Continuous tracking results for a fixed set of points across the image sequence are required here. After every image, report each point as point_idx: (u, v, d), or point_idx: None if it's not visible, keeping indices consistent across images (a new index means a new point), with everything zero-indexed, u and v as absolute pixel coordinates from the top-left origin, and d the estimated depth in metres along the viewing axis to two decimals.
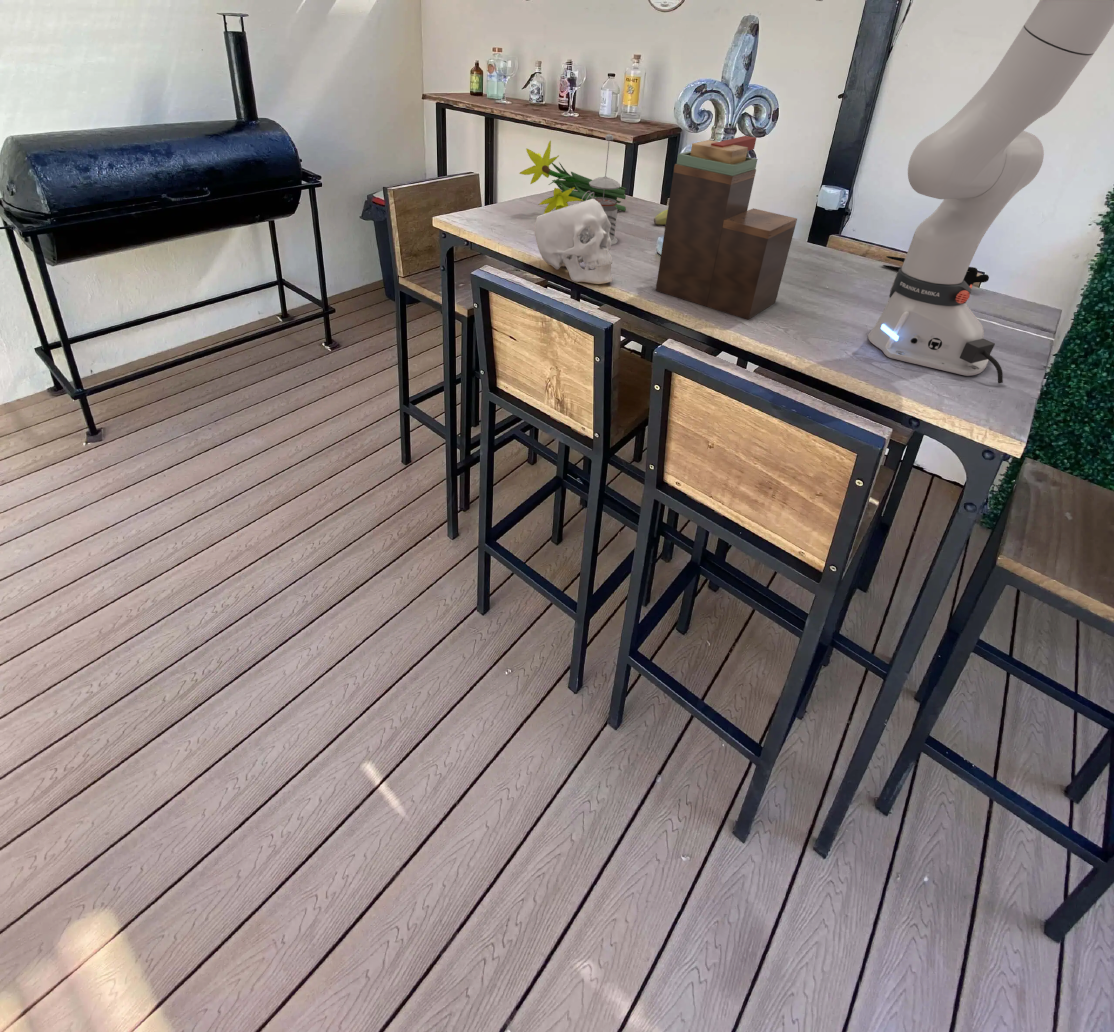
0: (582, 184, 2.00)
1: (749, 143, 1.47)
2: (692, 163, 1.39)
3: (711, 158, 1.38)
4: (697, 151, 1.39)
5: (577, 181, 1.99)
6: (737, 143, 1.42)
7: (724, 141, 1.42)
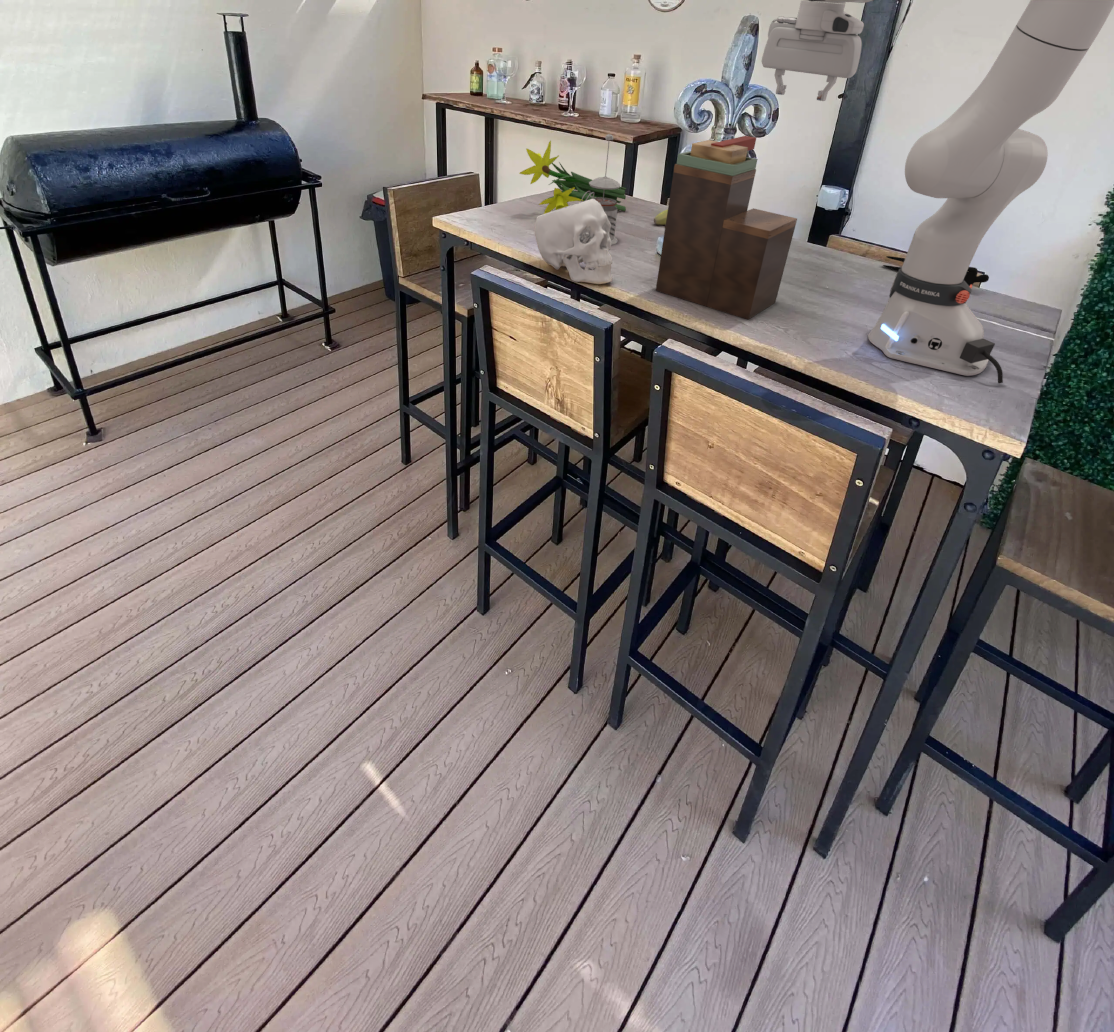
0: (582, 184, 2.00)
1: (749, 143, 1.47)
2: (692, 163, 1.39)
3: (711, 158, 1.38)
4: (697, 151, 1.39)
5: (577, 181, 1.99)
6: (737, 143, 1.42)
7: (724, 141, 1.42)
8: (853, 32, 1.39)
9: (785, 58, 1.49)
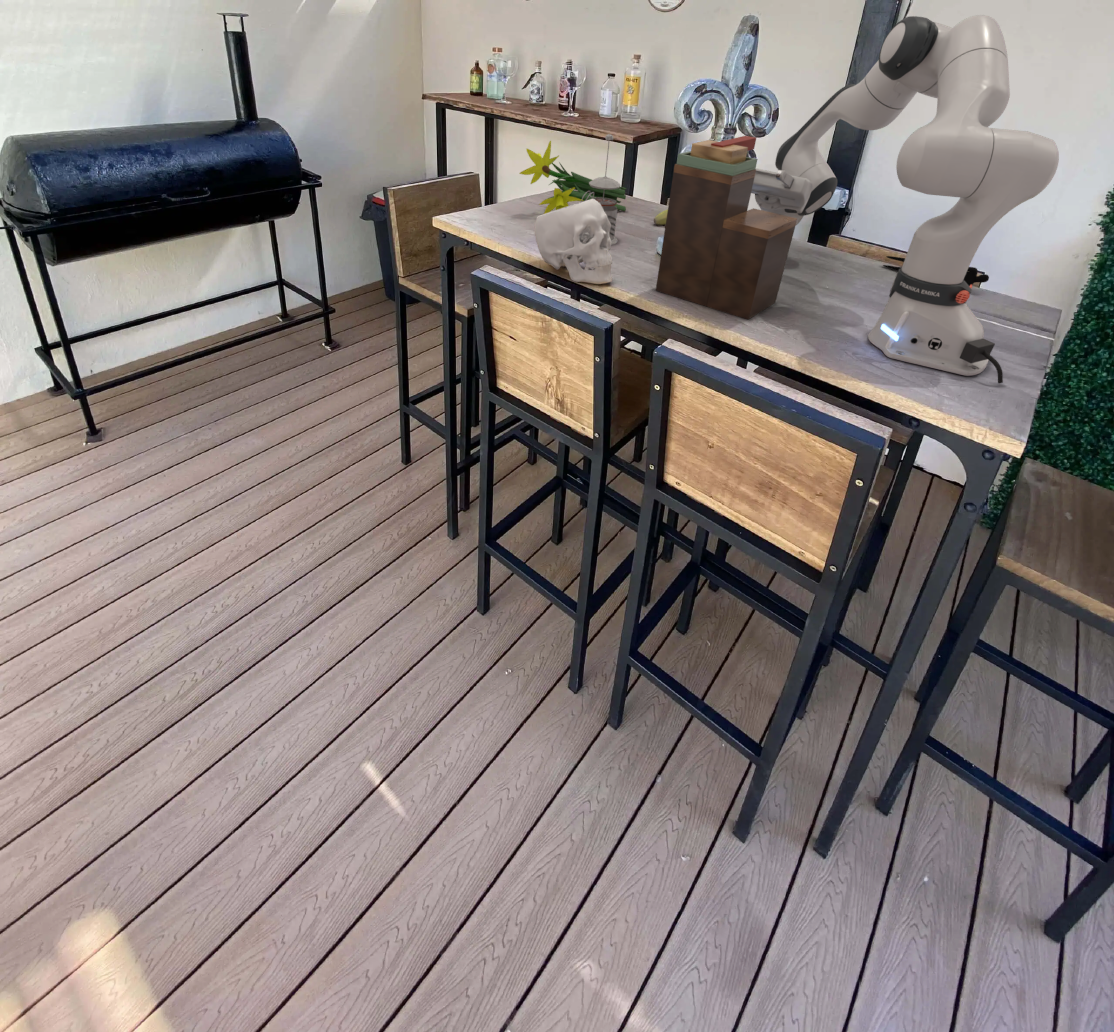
0: (582, 184, 2.00)
1: (749, 143, 1.47)
2: (692, 163, 1.39)
3: (711, 158, 1.38)
4: (697, 151, 1.39)
5: (577, 181, 1.99)
6: (737, 143, 1.42)
7: (724, 141, 1.42)
8: None
9: None
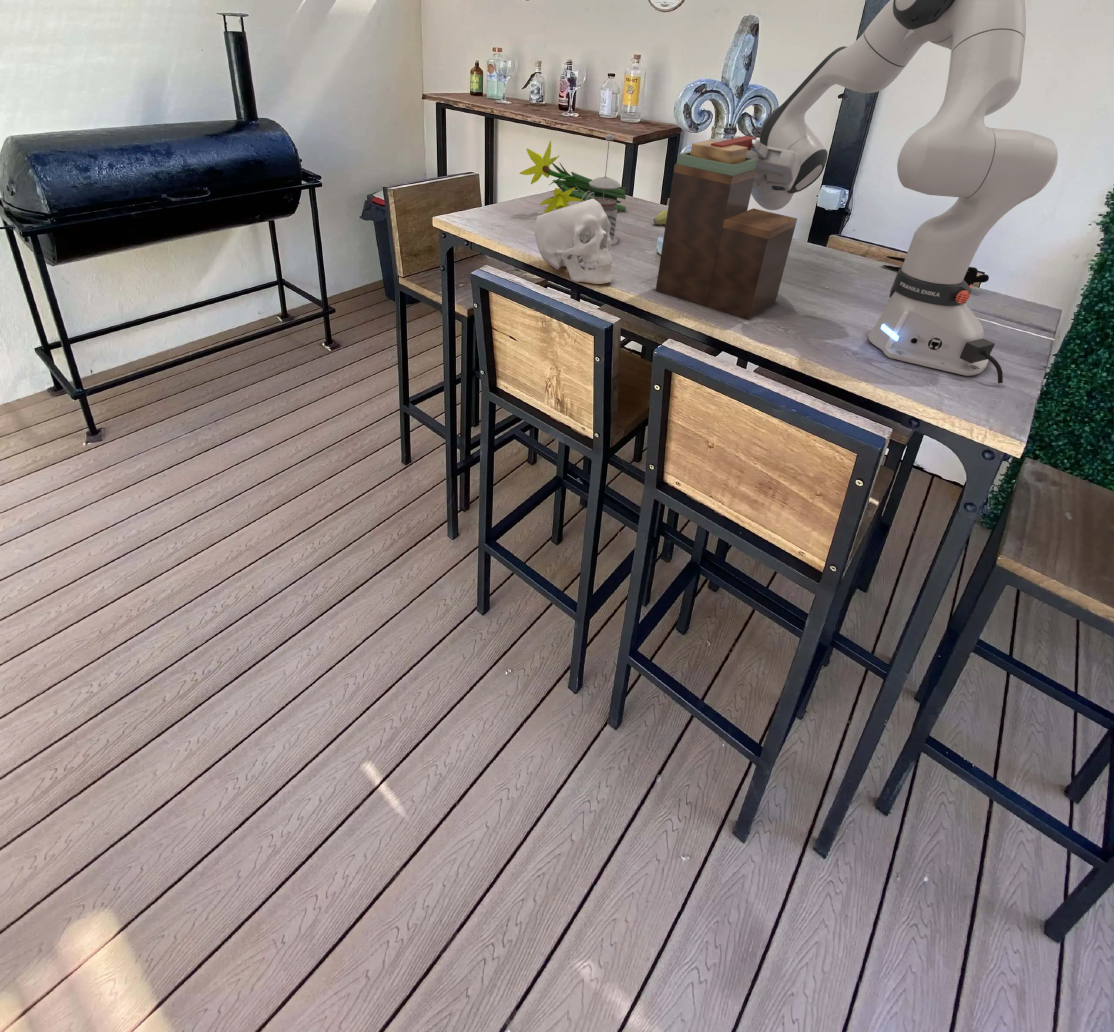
0: (583, 184, 2.00)
1: (749, 143, 1.47)
2: (692, 163, 1.39)
3: (711, 158, 1.38)
4: (697, 151, 1.39)
5: (577, 181, 1.99)
6: (737, 143, 1.42)
7: (724, 141, 1.42)
8: (798, 164, 1.54)
9: None
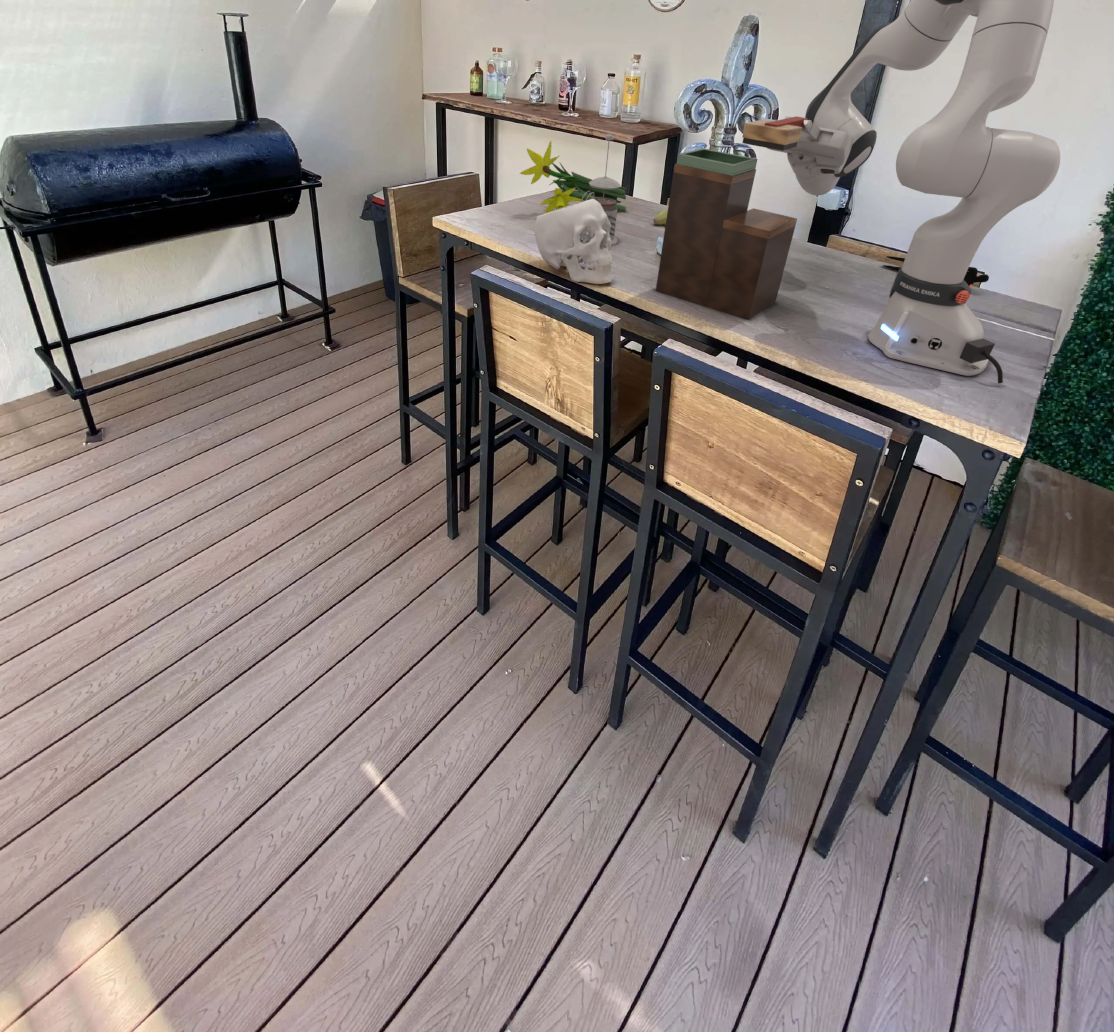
0: (583, 184, 2.00)
1: (801, 124, 1.43)
2: (692, 163, 1.39)
3: (765, 138, 1.34)
4: (750, 131, 1.35)
5: (577, 181, 1.99)
6: (790, 123, 1.38)
7: (777, 121, 1.38)
8: None
9: None
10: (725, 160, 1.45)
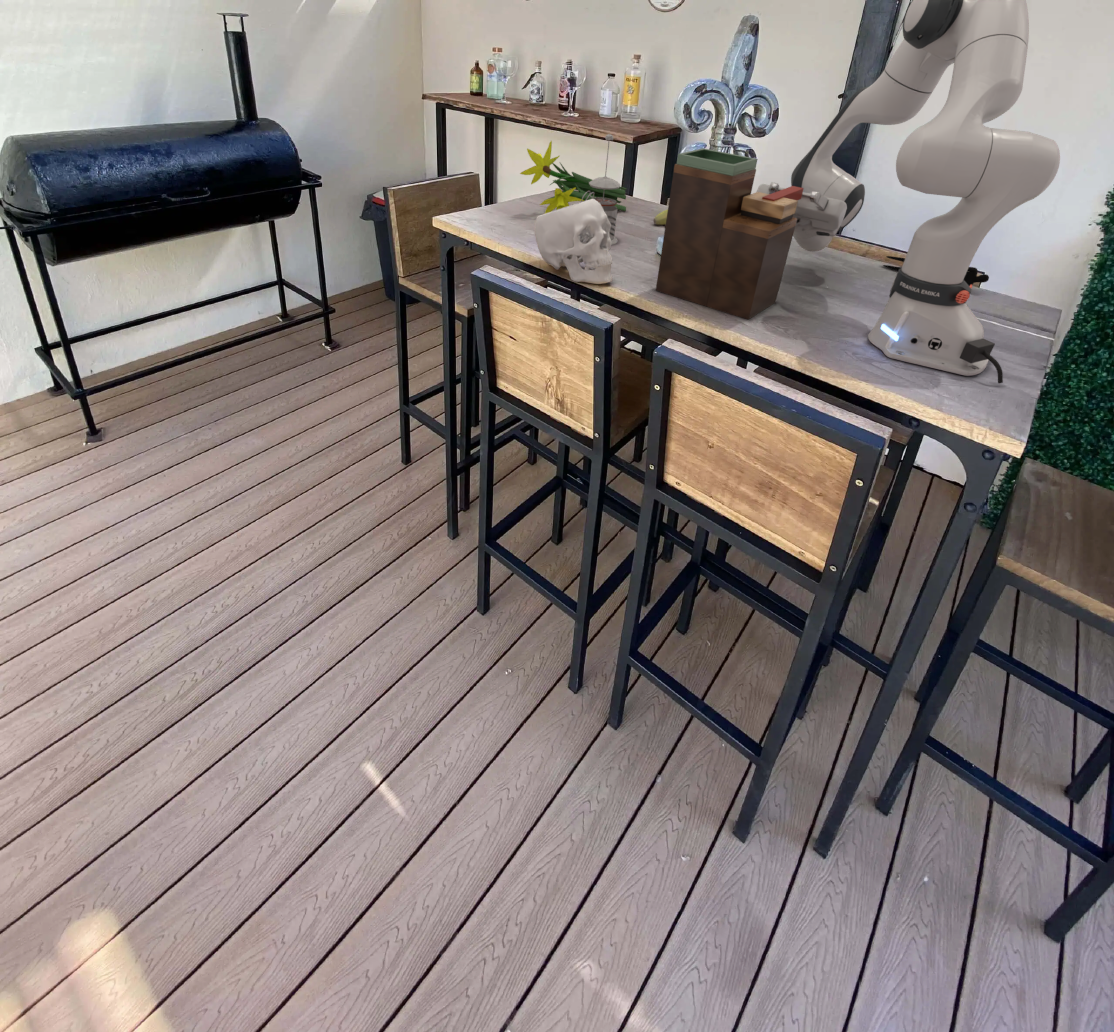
0: (583, 184, 2.00)
1: (797, 194, 1.49)
2: (692, 163, 1.39)
3: (762, 212, 1.41)
4: (748, 204, 1.42)
5: (578, 181, 1.99)
6: (786, 195, 1.45)
7: (774, 194, 1.44)
8: None
9: None
10: (725, 160, 1.45)
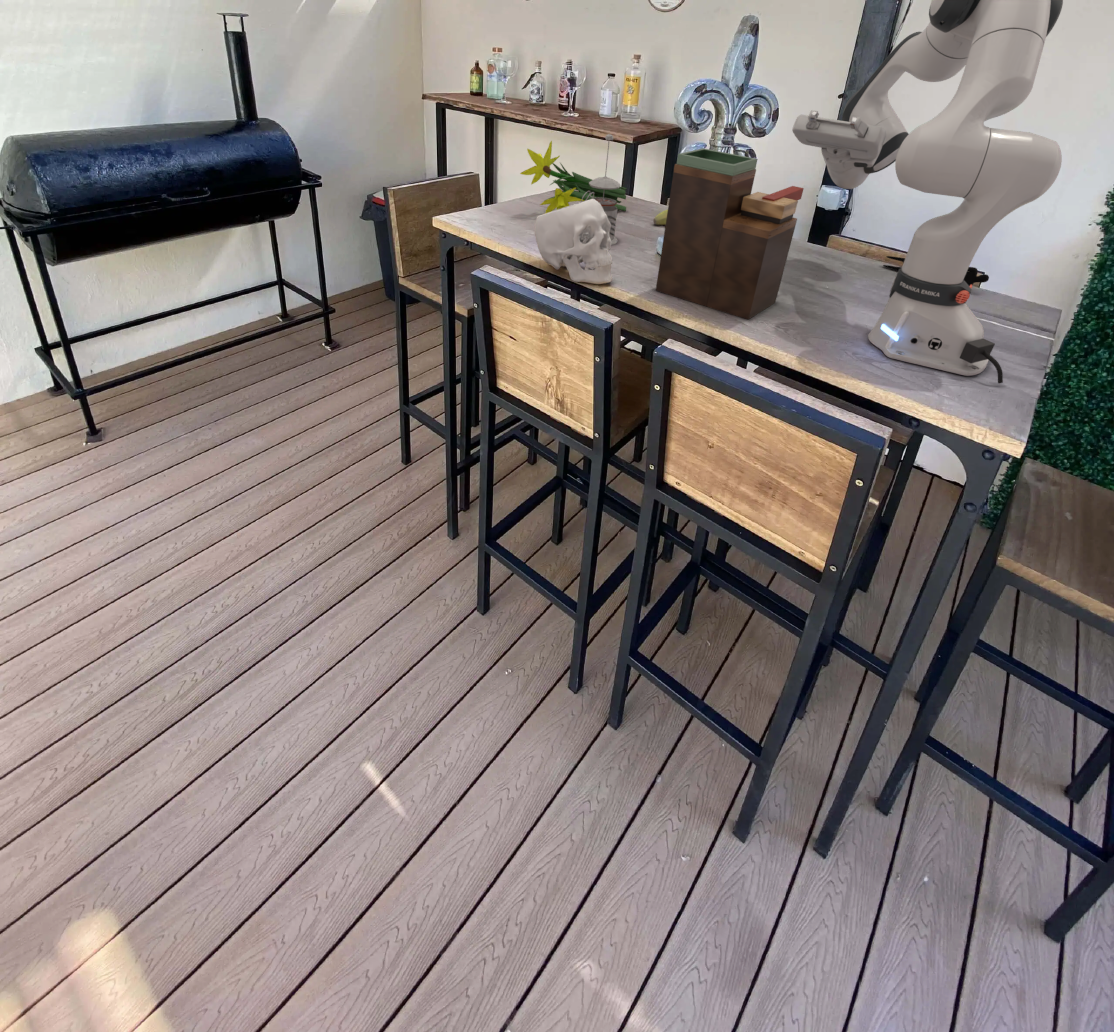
0: (583, 184, 2.00)
1: (797, 194, 1.49)
2: (692, 163, 1.39)
3: (762, 212, 1.41)
4: (748, 204, 1.42)
5: (578, 181, 1.99)
6: (786, 195, 1.45)
7: (774, 194, 1.44)
8: None
9: None
10: (725, 160, 1.45)
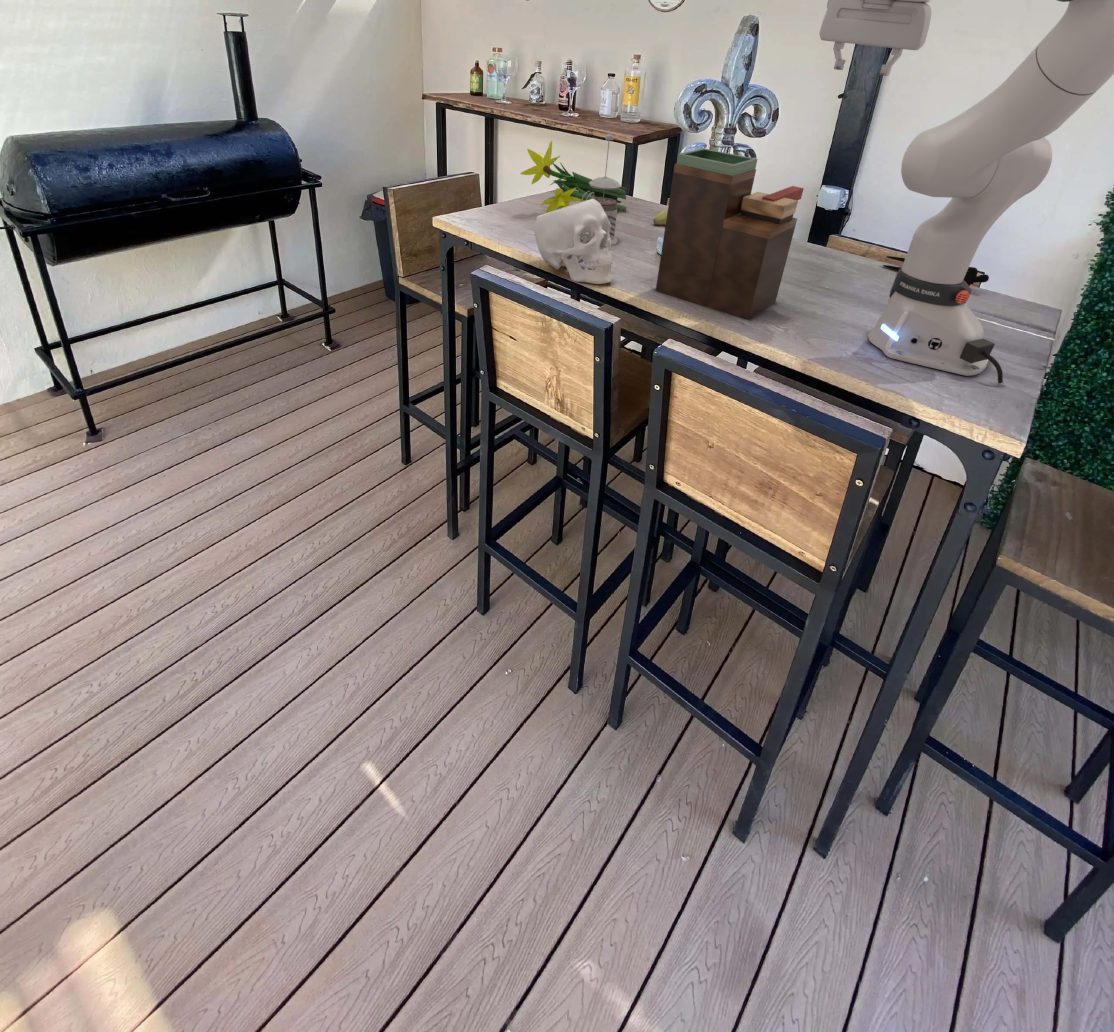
0: (583, 184, 2.00)
1: (797, 194, 1.49)
2: (692, 163, 1.39)
3: (762, 212, 1.41)
4: (748, 204, 1.42)
5: (578, 181, 1.99)
6: (786, 195, 1.45)
7: (774, 194, 1.44)
8: None
9: (846, 30, 1.38)
10: (725, 160, 1.45)
